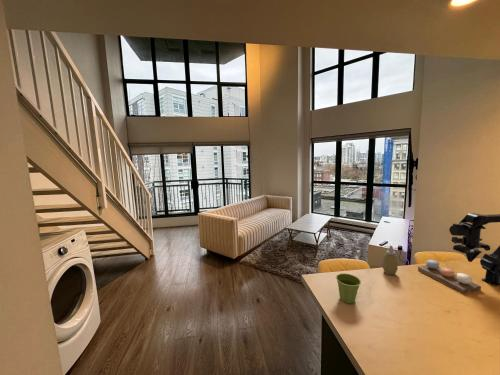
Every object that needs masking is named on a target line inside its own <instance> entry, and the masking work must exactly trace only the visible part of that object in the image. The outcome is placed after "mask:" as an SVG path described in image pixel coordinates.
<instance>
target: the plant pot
mask: <svg viewBox="0 0 500 375" xmlns="http://www.w3.org/2000/svg"><path fill="white" fill-rule="evenodd" d="M335 279H336V281H337V287H338V294H339V298H340V300H341V301H342V302H343V303H346V304H354V303H355V302H356V299H357V295H358V290H359V288H360V286H361V284H362V280H361V279H360V278H359V277H357V276H355V275H353V274H351V273H343V272H342V273H339V274H337V275H336V276H335Z"/></svg>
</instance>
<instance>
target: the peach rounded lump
mask: <svg viewBox="0 0 500 375" xmlns="http://www.w3.org/2000/svg"><path fill="white" fill-rule="evenodd" d="M440 268H441V271H440V274H441V275H443V276H445V277H450V278H453V277H454V274H455V271H454V270H453V269H451V268H449V267H440Z"/></svg>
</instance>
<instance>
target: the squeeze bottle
mask: <svg viewBox="0 0 500 375" xmlns="http://www.w3.org/2000/svg"><path fill="white" fill-rule="evenodd" d="M385 251H386V252H385V253H384V255H383V261H382V269H383V272H384V273H385V274H387V275H389V276H395V275H396V273H397V272H398V270H399V269H398V257H397V255H396V251H395V250H394V248H393V245H389V248H388V249H387V250H385Z"/></svg>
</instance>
